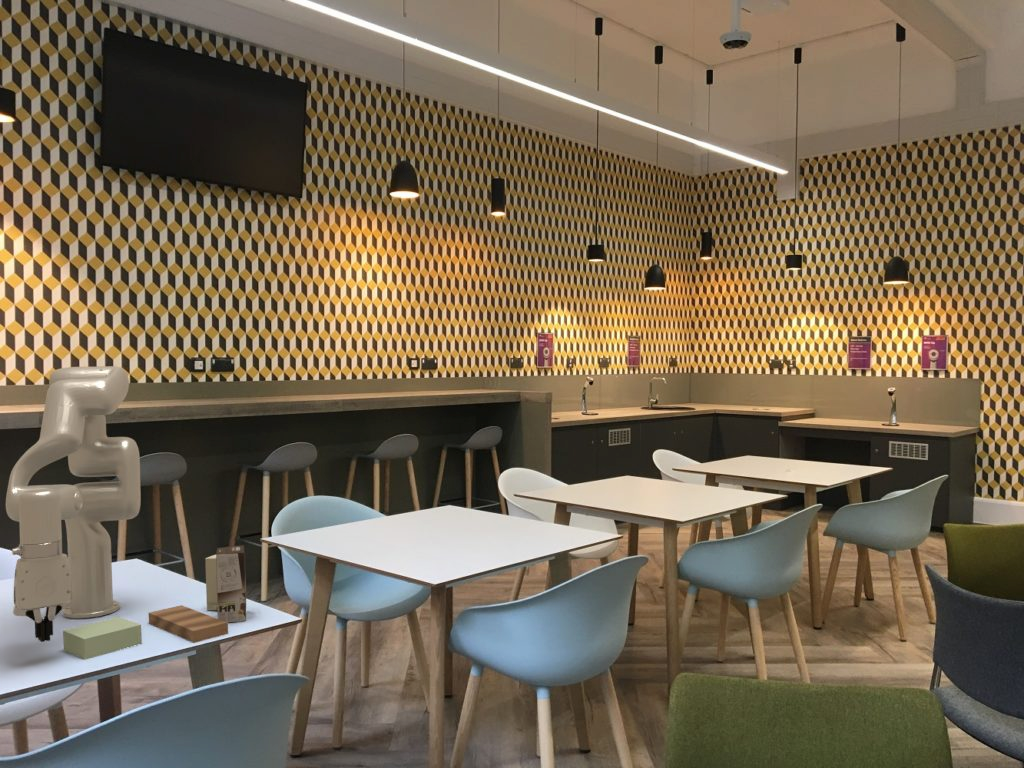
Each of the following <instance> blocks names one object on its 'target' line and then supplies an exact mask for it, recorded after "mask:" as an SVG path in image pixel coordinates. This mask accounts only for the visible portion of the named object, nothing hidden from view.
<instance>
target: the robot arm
mask: <svg viewBox="0 0 1024 768" xmlns="http://www.w3.org/2000/svg"><path fill="white" fill-rule="evenodd" d="M48 380H49V382H48V383H49V387H48V389H47V391H46V397H45V402H44V409H43V414H42V415H43V417H42V422H41V429H40V434H39V439H38V440H37V441H36V443H35V444H33V445H32V446H31V447H30V448H28V449H27V450H26V451H25V452H24V454H22V455H21V456H20V457H19V459H18V460H17V462H16V463H15V465H14V466H13V468H12V470H11V472H10V475H9V479H8V484H7V491H6V497H5V511H6V514H7V516H8V517H9V519H11V520H12V521H15V522H18V523H19V544H18V546H17V547H15V548H12V549H11V553H12V556H15V555H16V556H19V557H20V558H18V559H17V560H16V563H15V571H14V577H13V578H14V580H13V581H14V582H13V603H14V606H13V611H12V614H13V615H14V616H15V617H28V618H29V619H31V620H32V621H33V622H34V637H35V638H36V639H38V641H39V642H40V643H44V642H46V641H47V642H50V641H51V636H54V635H53V634H54V621H53V620H55V618H56V617H57V616H58V614H59V613H60V612H61V611H62V616H63V617H65V618H68V619H88V618H95V617H102V616H106V615H109V614H113V613H115V612H117V611H119V609H120V608H121V603H120V602H119V601H117V600H114V592H113V591H114V590H113V571H112V570H113V565H112V541H111V540H112V539H111V537H110V534H109V532H108V531H107V529H106V528H105V527H104V526H103V525H102V524H101V523H100V522H109V521H110V522H112V521H125V520H132V519H134V518H136V517H137V516H138V515H139V513H140V511H141V499H142V498H141V496H142V495H141V494H142V493H141V461H140V460H141V459H140V450H139V447H138V445H137V442H136V440H135V439H133V438H131V437H128V436H115V437H114V436H112V437H110V436H108V435H107V419H106V418H107V417H106V415H111V414H113V413H115V412H116V411H117V410H118V408H119V407H120V405H122V403H123V401H124V400H125V398H126V397H127V396H128V395H127V394H128V392H129V389H130V388H129V387H130V380H129V377H128V373H127V372H126V370H125V369H124V368H122V367H120V366H116V365H115V366H112V365H109V366H107V365H106V366H70V367H62V368H57V369H55V370H54V371H52V372H51V373H50V375H49V379H48ZM65 457H67V461H68V463H67V464H68V468H69V472H70V473H71V474H72V475H74V476H75V477H79V478H80V477H81V478H82V477H83V478H94V477H97V478H99V477H117V478H118V481H94V482H93V481H92V482H81V483H79V482H78V483H75V484H73V485H72V484H67V483H66V484H64V483H63V484H37V485H29V482H30V481H31V479H32V477H33V476H34V475H35V474H36V473H37V472H38V471H39V470H40V469H42V468H44V467H46V466H48V465H49V464H51V463H55V462H56V461H58V460H61V459H63V458H65ZM62 520H63V521H64V522H65V528H66V540H67V554H66V553H63V532H62ZM41 609H45V613H44V616H43V618H42V613H41Z"/></svg>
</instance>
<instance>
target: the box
mask: <svg viewBox="0 0 1024 768" xmlns="http://www.w3.org/2000/svg"><path fill="white" fill-rule="evenodd" d="M204 560H205V589H206V593H205V594H206V610H207V611H218V602H217V570H216V554H214V555H213V554H212V555H211V556H208V557H205V558H204Z"/></svg>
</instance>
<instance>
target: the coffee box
mask: <svg viewBox="0 0 1024 768" xmlns="http://www.w3.org/2000/svg"><path fill="white" fill-rule="evenodd" d="M215 555H216V570H217V602H218V610H217V619H220V620H223V621H225V622H228V624H229V623H239V622H240V623H241V622H246V620H247V582H246V581H247V579H246V577H247V576H246V575H247V574H246V553H245V545H235V546H234V545H231V546H225V547H217V548H216V554H215Z"/></svg>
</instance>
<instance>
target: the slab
mask: <svg viewBox="0 0 1024 768" xmlns="http://www.w3.org/2000/svg"><path fill="white" fill-rule="evenodd" d="M142 634H143V633H142V624H140V623H138V622H135V621H132V620H129V619H127V618H126V619H125V618H124V617H120V616H118V617H114V618H109V619H105V620H101V621H97V622H93V623H89V624H84V625H79V626H77V627H73V628H69V629H63V630H62V637H63V638H62V641H63V651H65V652H68V653H70V654H72V655H75V656H77V657H79V658H81V659H84V660H89V659H92V658H96V657H98V656H103V655H107V654H110V653H114V652H117V650H118V651H120V649H121V650H124V648H125V649H128V648H127V647H129V648H132V647H135V646H134V645H136V646H139V645H138V644H140V645H142V644H143V639H142V637H143V636H142ZM131 646H132V647H131Z"/></svg>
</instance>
